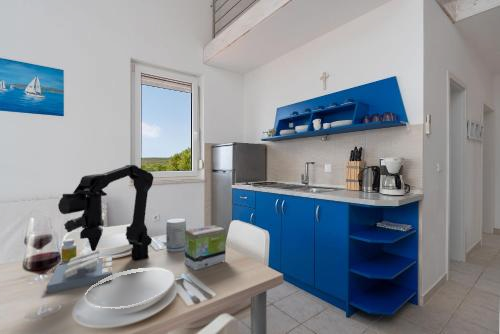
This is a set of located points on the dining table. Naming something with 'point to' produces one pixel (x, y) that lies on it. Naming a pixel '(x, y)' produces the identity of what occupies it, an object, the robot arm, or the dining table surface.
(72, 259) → the rocker
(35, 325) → the dining table surface
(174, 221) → the supplement tub
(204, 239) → the tea box
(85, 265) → the rocker
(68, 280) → the switch panel
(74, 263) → the rocker
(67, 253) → the supplement bottle
